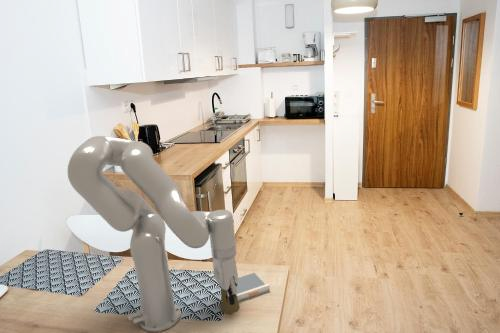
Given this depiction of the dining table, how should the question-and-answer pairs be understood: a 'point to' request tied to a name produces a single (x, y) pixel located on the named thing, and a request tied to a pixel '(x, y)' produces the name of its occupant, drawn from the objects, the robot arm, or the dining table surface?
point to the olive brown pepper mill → (228, 303)
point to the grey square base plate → (250, 287)
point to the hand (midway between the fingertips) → (229, 301)
